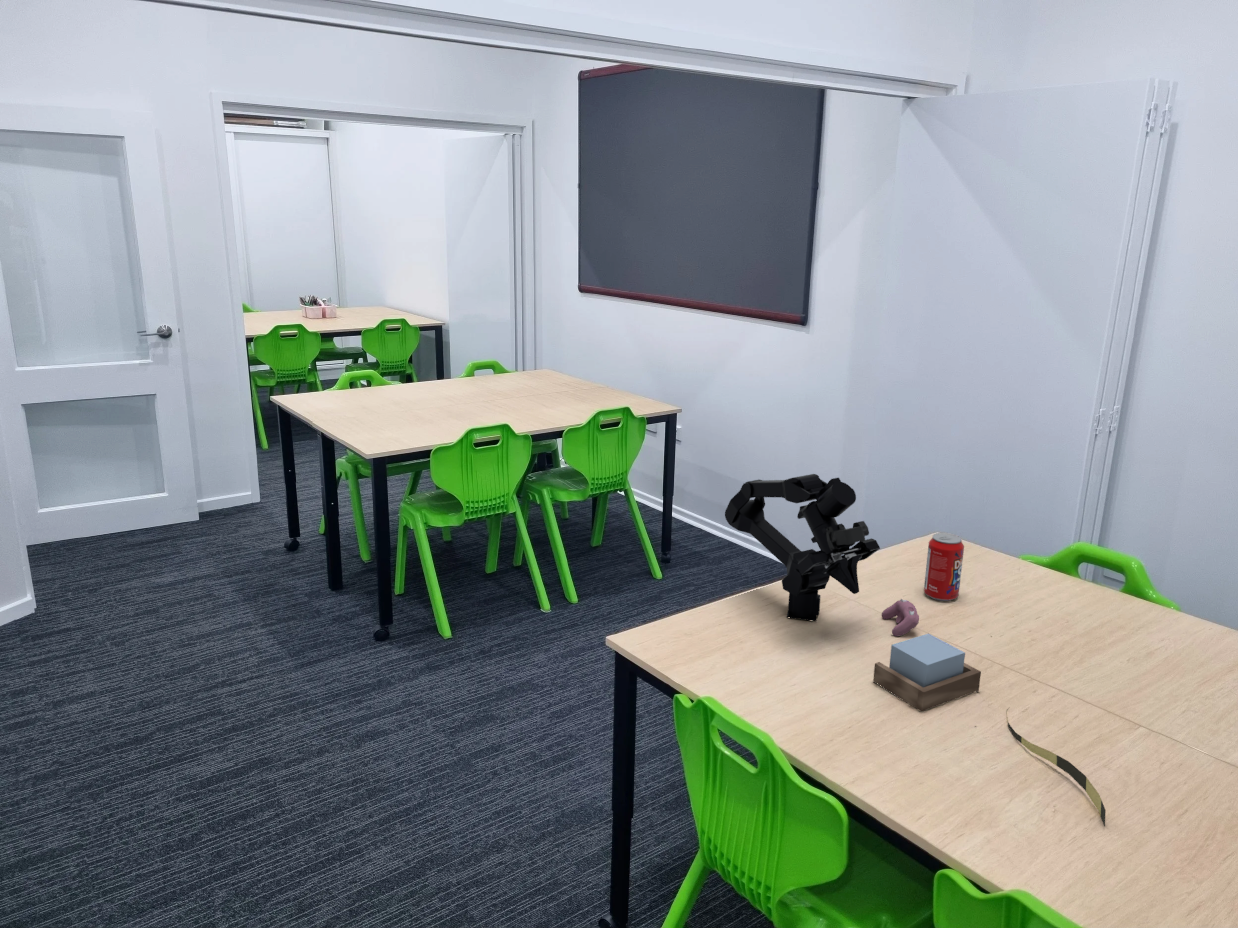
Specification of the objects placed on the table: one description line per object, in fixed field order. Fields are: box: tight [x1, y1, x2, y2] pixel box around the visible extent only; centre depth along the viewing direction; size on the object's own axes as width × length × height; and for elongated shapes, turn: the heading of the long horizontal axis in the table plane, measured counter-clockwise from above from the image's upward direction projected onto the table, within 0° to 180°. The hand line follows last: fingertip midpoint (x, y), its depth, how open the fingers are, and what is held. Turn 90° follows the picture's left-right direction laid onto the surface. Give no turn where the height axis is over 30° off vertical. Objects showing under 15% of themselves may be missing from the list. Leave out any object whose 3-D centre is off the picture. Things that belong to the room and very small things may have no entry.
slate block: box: [888, 633, 966, 688], centre depth 171 cm, size 9×10×8 cm
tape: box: [1006, 707, 1106, 827], centre depth 150 cm, size 6×38×4 cm, turn 176°
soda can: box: [923, 532, 965, 602], centre depth 209 cm, size 8×8×15 cm
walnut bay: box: [872, 661, 982, 712], centre depth 171 cm, size 12×15×4 cm
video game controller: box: [881, 598, 920, 637], centre depth 195 cm, size 10×5×7 cm, turn 179°
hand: (856, 592), depth 185 cm, fingers closed
